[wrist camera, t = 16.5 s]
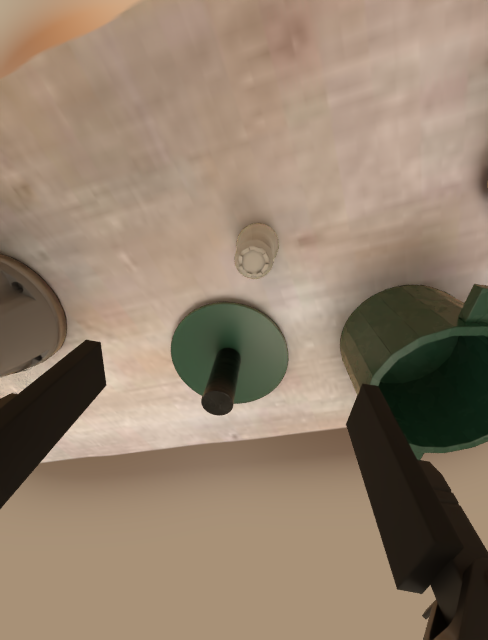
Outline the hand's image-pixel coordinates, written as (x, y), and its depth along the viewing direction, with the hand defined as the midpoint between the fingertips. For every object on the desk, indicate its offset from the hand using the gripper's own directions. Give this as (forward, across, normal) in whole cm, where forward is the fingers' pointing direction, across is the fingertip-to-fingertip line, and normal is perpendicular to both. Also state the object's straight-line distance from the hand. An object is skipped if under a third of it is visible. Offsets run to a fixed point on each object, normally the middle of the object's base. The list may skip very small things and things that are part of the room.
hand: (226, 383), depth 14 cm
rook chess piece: (+19, 0, +4) cm, 19 cm away
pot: (+19, +18, -5) cm, 27 cm away
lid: (+18, -2, -10) cm, 21 cm away
